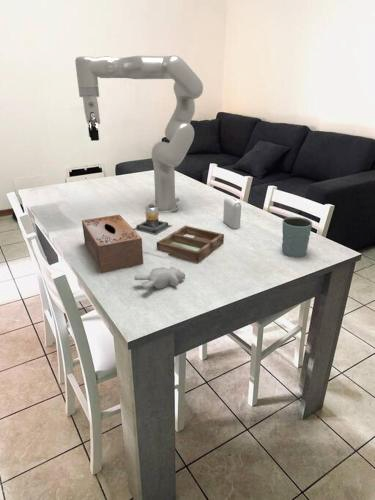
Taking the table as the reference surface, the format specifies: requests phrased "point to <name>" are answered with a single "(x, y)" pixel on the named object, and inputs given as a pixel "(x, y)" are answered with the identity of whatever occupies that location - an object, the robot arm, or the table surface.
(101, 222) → the tissue box cover
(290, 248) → the green tapered cup
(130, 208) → the table surface
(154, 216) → the cell
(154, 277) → the bunny figurine
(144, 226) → the tester cradle
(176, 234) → the wooden divided tray
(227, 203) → the photo printer
